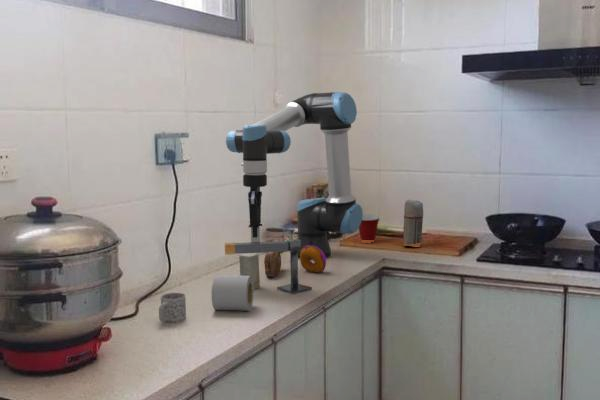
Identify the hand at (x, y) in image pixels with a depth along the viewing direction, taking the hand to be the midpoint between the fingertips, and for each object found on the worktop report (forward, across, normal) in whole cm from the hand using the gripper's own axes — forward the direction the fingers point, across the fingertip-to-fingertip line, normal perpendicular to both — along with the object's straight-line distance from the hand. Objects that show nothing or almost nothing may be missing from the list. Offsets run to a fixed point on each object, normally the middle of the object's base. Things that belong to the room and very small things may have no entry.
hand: (255, 246), depth 206 cm
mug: (+14, +33, -19) cm, 41 cm away
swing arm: (+1, +2, +3) cm, 4 cm away
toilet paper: (+14, +22, -4) cm, 26 cm away
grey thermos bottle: (+14, -71, +58) cm, 93 cm away
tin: (+15, -21, +3) cm, 25 cm away
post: (+14, 0, +12) cm, 19 cm away
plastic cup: (+14, -80, +39) cm, 90 cm away
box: (+14, -2, -2) cm, 15 cm away
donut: (+14, -24, +17) cm, 32 cm away
